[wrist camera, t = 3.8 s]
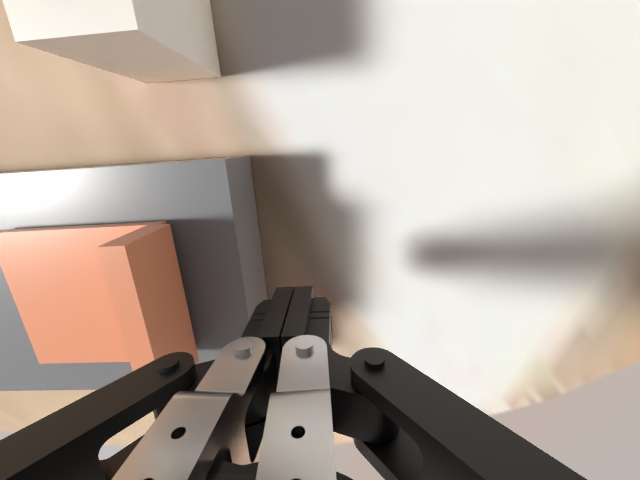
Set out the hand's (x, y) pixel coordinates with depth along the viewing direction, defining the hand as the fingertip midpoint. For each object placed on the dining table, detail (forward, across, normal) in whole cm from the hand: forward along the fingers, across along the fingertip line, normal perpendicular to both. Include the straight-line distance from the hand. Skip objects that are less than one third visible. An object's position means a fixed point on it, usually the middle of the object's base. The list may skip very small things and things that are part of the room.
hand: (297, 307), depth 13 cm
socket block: (+6, +13, 0) cm, 14 cm away
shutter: (+2, +10, 0) cm, 10 cm away
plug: (+6, +6, -12) cm, 15 cm away
